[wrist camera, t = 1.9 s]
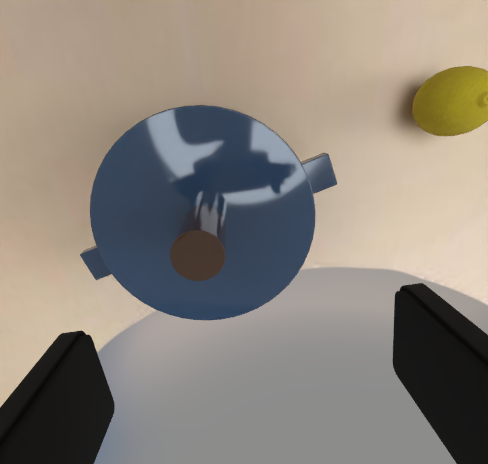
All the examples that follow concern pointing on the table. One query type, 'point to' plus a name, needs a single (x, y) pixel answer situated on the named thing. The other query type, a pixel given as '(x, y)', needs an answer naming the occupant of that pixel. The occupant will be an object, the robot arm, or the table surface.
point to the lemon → (452, 101)
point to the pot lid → (202, 212)
